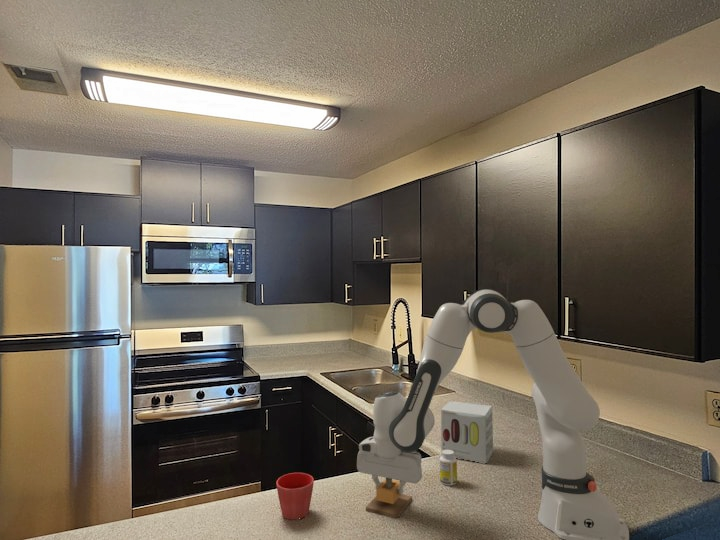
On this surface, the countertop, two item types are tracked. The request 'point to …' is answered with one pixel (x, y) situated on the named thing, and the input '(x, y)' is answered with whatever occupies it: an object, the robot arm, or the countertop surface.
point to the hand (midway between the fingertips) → (389, 491)
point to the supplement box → (467, 430)
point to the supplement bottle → (448, 468)
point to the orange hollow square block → (387, 492)
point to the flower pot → (295, 494)
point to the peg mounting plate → (389, 504)
